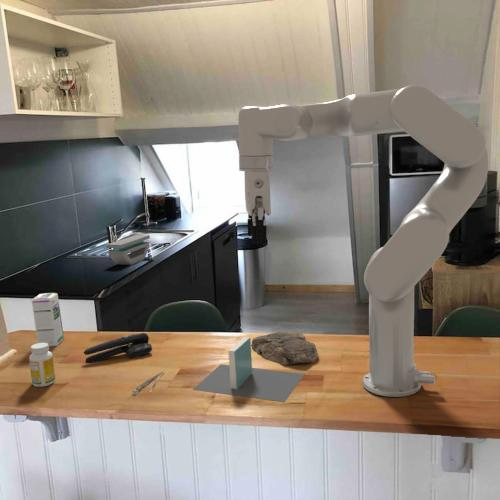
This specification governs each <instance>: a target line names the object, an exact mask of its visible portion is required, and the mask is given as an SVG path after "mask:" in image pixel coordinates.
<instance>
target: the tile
mask: <svg viewBox="0 0 500 500" xmlns="http://www.w3.org/2000/svg"><path fill="white" fill-rule="evenodd" d="M251 344H252V339H251V337H249V336H248V337H247V336H243V337H242V338H241V339H240V340H239V341H238V342H236V344H234V345H233V346H232V347H231V348H230V349H229V350H228V363H229V364H228V365H229V367H230V382H231V388H233V389H238V388H239V387H240V386H241V385H242V384H243V383H244V382H245V380H246V379H247V378H248V377H249V376H250V375H251V374H252V368H253V362H252V360H253V359H252V347H251Z"/></svg>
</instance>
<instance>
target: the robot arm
mask: <svg viewBox="0 0 500 500" xmlns="http://www.w3.org/2000/svg"><path fill="white" fill-rule="evenodd" d="M237 120H238V121H237V122H238V165H239V166H238V170H239V171H240V172H244V200H245V201H244V202H245V210H246V212H247V236H248V237H251V243H252V244H253V245H264V244H267V239H268V236H267V231H268V230H267V220H266V215H267V216H271V213H272V205H271V204H272V202H271V180H270V173H269V172H270V171H273V170H274V155H273V154H274V144H273V143H274V140H276V141H277V140H278V141H286V142H288V141H298V140H306V139H308V140H309V139H315V138H316V139H317V138H326V137H338V136H340V137H341V136H342V137H343V136H344V137H359V136H370V135H380V134H389V133H401V132H402V133H403V132H405V133H406V134H408V136H410V137H411V138H412V139H413V140H414V141H416V142H418V144H420V145H421V146H423V147H424V148H425V149H427V150H428V151H429V152H430V153H431V154H433V155H434V156H436V157H437V158H438V159H439V160H440V161H442V162H443V163H444V165H443V168H442V172H441V174H440V175H439V176H438V178H437V179H436V181H435V182H434V183H433V185H431V187H430V188H429V190H428V191H427V193H426V194H425V195H424V196H423V197H422V198H421V200H419V202H418V203H417V204H416V205H415V206H414V207H413V209H411V211H410V212H408V214H406V215H405V216H404V217H403V219H402V222H401V224H400V225H399V227H398V228H397V229H396V230H395V232H394V233H393V234H392V235H391V237H390V238H389V239H388V241H387V242H386V243H385V244H384V245H383V246H382V247H380V248H378V249H377V250H376V251H374V253H373V254H372V255H371V257H370V258H369V260H368V262H367V265H366V268H365V270H364V273H363V283H364V286H365V288H366V291H367V292H368V295H369V296H368V303H369V304H368V336H369V337H368V338H369V339H368V341H369V342H368V343H369V345H368V347H369V350H368V352H369V354H368V355H369V372H368V373H366V374H365V375H364V376H363V378H362V385H363V387H364V389H365V390H367V391H368V392H370V393H372V394H375V395H379V396H383V397H387V398H388V397H389V398H390V397H391V398H399V397H407V396H411V395H414V394H416V393H417V392H419V391H420V390H421V389H422V388H421V387H422V384H426V385H435V382H436V381H435V380H436V379H435V378H436V377H435V375H431V371H427V370H426V371H425V370H424V371H422V370H420V369H417V363H414V361H415V360H414V358H415V357H414V351H415V350H414V349H415V348H414V344H415V343H414V342H415V341H414V339H415V338H414V334H415V331H414V329H415V323H414V322H415V321H414V320H415V287H416V285H417V284H418V283H419V281H420V280H421V279H423V277H424V276H425V275H426V274H427V272H429V270H430V269H431V268H432V266H434V264H435V263H436V262H437V261H438V259H439V258H440V257H441V256H442V254H443V253H444V251H445V250H446V248H447V246H448V244H449V240H450V239H449V237H450V233H451V232H452V230H453V229H454V227H455V226H456V225H457V224H458V223H459V222H460V220H461V219H462V218H463V216H464V215H465V214H467V212H468V210H469V209H470V207H472V205H474V203H475V201H477V198H478V197H479V196H480V194H481V192H482V190H483V189H484V186H485V184H486V182H487V178H488V171H489V156H488V151H487V147H486V146H487V145H486V144H487V142H486V137H485V134H484V133H483V131H482V129H481V128H479V127H478V126H477V125H476V124H475V123H473V122H472V121H470V120H469V119H468V118H466V117H465V116H464V115H463V114H461V113H460V112H459V111H457V110H456V109H455V108H453V107H452V106H450V105H449V104H448V103H446V102H445V101H444V100H442V99H441V98H440V97H439V96H437V95H436V94H435V93H434V92H433V91H432V90H431V89H429V88H428V87H426V86H424V85H421V84H409V85H407V86H404V87H402V88H396V89H388V90H380V91H373V92H371V91H369V92H363V93H353V94H350V95H347V96H345V97H343V98H341V99H337V100H333V101H328V102H321V103H320V102H319V103H311V104H303V105H296V104H280V105H275V106H244V107H242V108H240V109H239V111H238V119H237Z"/></svg>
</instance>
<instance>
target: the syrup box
mask: <svg viewBox="0 0 500 500" xmlns="http://www.w3.org/2000/svg"><path fill="white" fill-rule="evenodd" d="M59 300H60V299H59V294H58V293H57V292H46V293H45V292H44V293H39V294H38V295H37V296H35V297H33V298H32V299H31V305H32V312H33V319H34V326H35V333H36V339H37V343H48V346H49V347H58V346H59V344H61V342H63V340H64V339H65V336H64V330H63V321H62V314H61V309H60V301H59Z"/></svg>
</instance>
